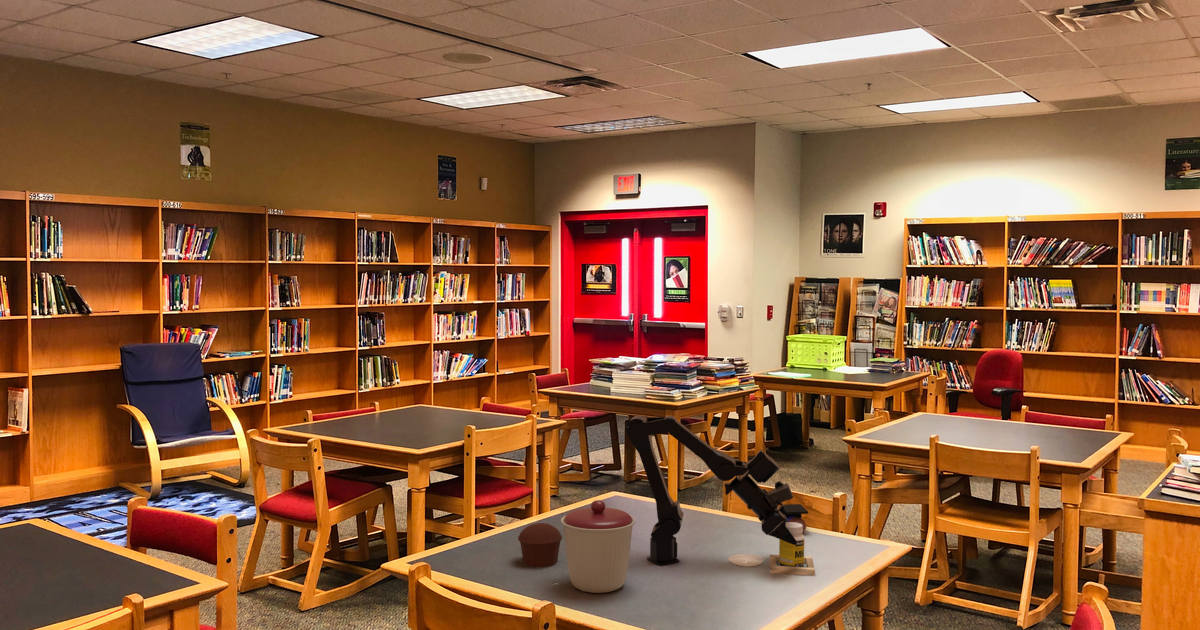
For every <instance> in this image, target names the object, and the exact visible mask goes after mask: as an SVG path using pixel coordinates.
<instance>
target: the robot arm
mask: <svg viewBox="0 0 1200 630" xmlns="http://www.w3.org/2000/svg"><path fill="white" fill-rule="evenodd" d="M625 433H626V435H627V437H628V439H629V441H630V443H631V444H632V446H633V448H634V449H635V450H636V452H637V453H638V454H639V458H640V461H641V463H642V467H643V469H644V472H645V475H646V478H647V481H648V484H649V486H650V489H651V492H652V495H653V497H654V501H655V504H656V517H657V522H656V523H655V524H654V526H653V528H652V531H651V533H650V536H651V537H650V540H649V541H650V542H649V543H650V544H649V545H650V546H649V547H650V548H649V549H650V550H649V556H647V557H646V560H648V561H650V562H652V563H654V564H656V565H658V566H662V565H668V564H674V563H679V562H680V559H678V542H677V537H676V536H675V535H677V533H679V532H680V530H681V527H682V523H683V518H684V515H685V514H684V511H682V509H681V503H680V500H676V501H674V500H673V499H672V497H671V495H670V492H669V489H668V487H667V484H666V482H665V478H664V476H663V472H662V470H661V467H660V464H659V461H658V458H657V456H656V452H655V449H654V445H653V436H655V435H660V434H663V433H664V434H665V433H668V434H669V435H670V436H671V437H672V438H674V439H675V440H677V441H678V442H679V443H681V444H682V445H683V446H684V447H685V448H687V449H688V450H690V451H691V452H692V453H693V454H695V455H696V456H697V457H698V458H700V459H701V460H702V461H703V462H704V464H705V465H706V466H707V467H708V469H709V471H711V472H712V473H713V474H714V475H715V477H716V478H717V479H719V480H720V481H723V482H724V494H725V496H727V495H729V494H731V492H732V491H733V493H734V494H736V496H737V497H738V498H739V499H740V500H741V502H743V503H744V504H745V505H746V508H747V509H748V511H752V512H753V513H754V514H755V515H756V516H757V520H759V521H760V522H761V532H763V533H764V534H765V535H766V536H770V537H774V538H775V539H778V540H779V539H781V540H783V541H786V542H788V543H790V544H793V545H795V544H796V543H797V541H796V539H795V538H794V536H793V535H792V534H791V532H790V531H789V529H788V528H787V526H786V522H789V521H788V519H787V518H786V516H785V515H784V505H785V504H783V502H786V501H789V500H792V499H793V498H794V494H793V493H792V490H791V487H790V485H789V484H788V483H787V482H786V483H783V482H782V481H781V480H778V481H776V482H774V488H771V490H769V491H768V490H767V489H766V488H762V487H760V485H758V484H759V483H764V484H765V483H766V482H767V481H769V480H770V478H772V477H773V476H774V475H775V474H776V473H777V472H779V470H780V469H781V467H780V466H779V464H778V463H777V462H776V461H775V460H774V459H773V458H772V456H769V455H768V454H767V453H766V452H764V451H763V450H762V449H760V450H759V451H758V452H757V453H756V454H755V456H753V458H752V459H750V460H749V461H741V460H736V459H735V458H734V457H733V456H731V455H729V454H727V453H726V452H724V451H722V450H719V449H717V448H714V447H712V446H711V445H710V444H709V443H707V442H705V441H704V440H703V439H702V438H700V436H698V435H697V434H695V432H693V431H691V430H690V429H689V428H688V427H686V426H685V425H684V424H682V422H680V421H679V420H678V419H677V418H676V417H675V416H674V415H667V416H653V417H651V416H650V417H645V416H643V415H639V414H638V415H635V416H633V417H632V418H631V419H629V421H628V422H627V424H626V426H625ZM729 481H730V482H729ZM757 483H758V484H757Z"/></svg>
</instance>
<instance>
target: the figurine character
mask: <svg viewBox="0 0 1200 630" xmlns="http://www.w3.org/2000/svg"><path fill="white" fill-rule="evenodd" d="M783 505H784V515H785V516H786V518H787V519H788V521H789V522H795V523H800V524H802V525H803V533H804V532H805V531H806V528H807V524H806V522H805V520H804V519H803V518H802V515H808V514H809V511H808V510H807V509H806V508H805V506H803V505H802V504H800V503H795V504H793V503H792V504H791V503H789V504H783Z"/></svg>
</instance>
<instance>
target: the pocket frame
mask: <svg viewBox="0 0 1200 630" xmlns="http://www.w3.org/2000/svg"><path fill="white" fill-rule="evenodd" d="M777 563H779V554H769V569H770V570H769V571H770V574H779V575H780V574H781V575H795V576H796V575H799V576H813V577H814V576H816V575H815V574H816V573H815V571H816V569H815V565H814V561H813V556H805V555H804V565H806V566H804V567H788V566H779V565H777Z"/></svg>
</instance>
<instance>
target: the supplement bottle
mask: <svg viewBox="0 0 1200 630" xmlns="http://www.w3.org/2000/svg"><path fill="white" fill-rule="evenodd" d="M786 526H787V528H788V529H789V531H790V532H791V534H792V535H793V536H794V538H795V539H796V541H797V543H796V544H795V545H793V544H790V543H788V542H786V541H783V540H781V539H778V540H779V546H778V547H779V550H778V551H779V552H778V555H779V562H778V566H788V567H805V564H804V556H805V536H804V534H803V533H804V532H803V525H802V524H800V523H795V522H786Z"/></svg>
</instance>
